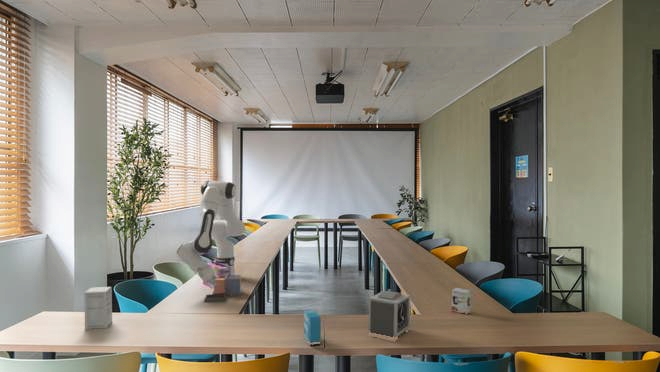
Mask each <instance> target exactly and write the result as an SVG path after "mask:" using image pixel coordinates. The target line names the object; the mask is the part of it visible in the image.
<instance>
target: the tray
mask: <svg viewBox="0 0 660 372" xmlns="http://www.w3.org/2000/svg"><path fill="white" fill-rule="evenodd" d="M226 300H227V296H226V293H225V294H213V293H211V294H206V295H205V297H204V303H220V302H226Z"/></svg>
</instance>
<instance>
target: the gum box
mask: <svg viewBox="0 0 660 372" xmlns="http://www.w3.org/2000/svg"><path fill="white" fill-rule="evenodd" d="M207 264H208V265H209V266H210V267H211V268H212V269H213V270H214V272H215V273H214V275H215V276H216V278H217V279H220V278H225V276H227V275H231V267H228V266H225V265H222V264H219V263H216V262H215V261H211V262H207ZM211 279H212V280H213V281H214V279H213V278H211ZM202 284H203V285H205V286H207V287H209V288H212V289H213V288H214V285H212V284H211V283H209V282H208V283H205V282H204V281H203V280H202ZM225 291H226V279H225Z"/></svg>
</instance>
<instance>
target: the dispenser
mask: <svg viewBox="0 0 660 372" xmlns="http://www.w3.org/2000/svg"><path fill="white" fill-rule="evenodd" d="M225 279H226V290H225V294H226V297H241V293H242V275H241V274H236V275H227V276H225ZM212 294H214V291H212ZM221 294H224V293H221Z"/></svg>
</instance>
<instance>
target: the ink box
mask: <svg viewBox="0 0 660 372" xmlns="http://www.w3.org/2000/svg"><path fill="white" fill-rule="evenodd" d="M471 297H472V291H471V289H466V288H459V287H455V288H453V289H452V291H451V311H452V310H456V311H461V312H469V311H470V312H471V305H472V302H471V300H472V298H471Z"/></svg>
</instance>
